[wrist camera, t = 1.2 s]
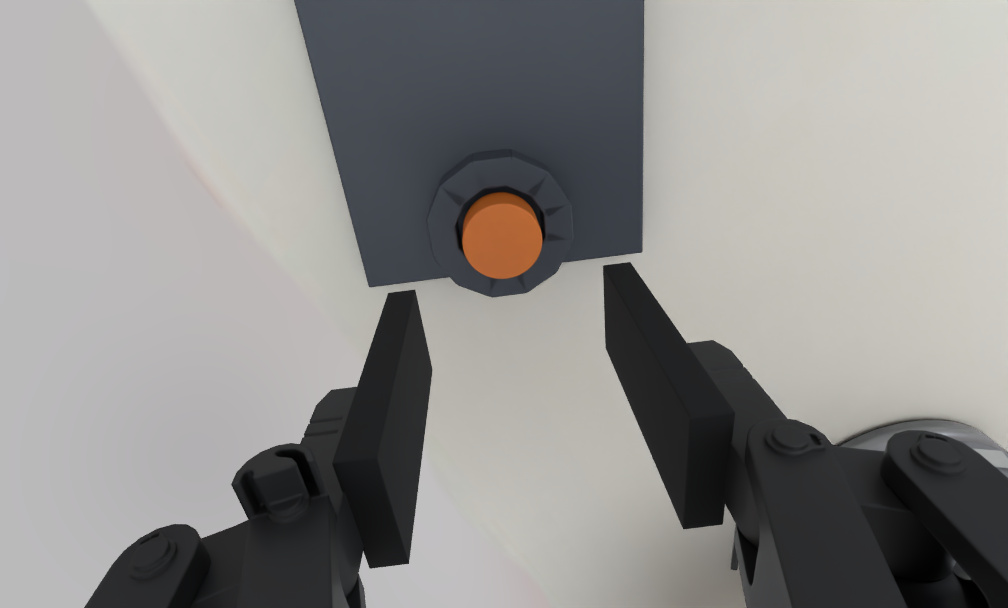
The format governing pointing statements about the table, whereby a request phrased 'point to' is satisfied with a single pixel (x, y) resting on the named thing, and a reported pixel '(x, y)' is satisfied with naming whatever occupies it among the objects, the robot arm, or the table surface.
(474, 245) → the button
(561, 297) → the table surface
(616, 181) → the scale
